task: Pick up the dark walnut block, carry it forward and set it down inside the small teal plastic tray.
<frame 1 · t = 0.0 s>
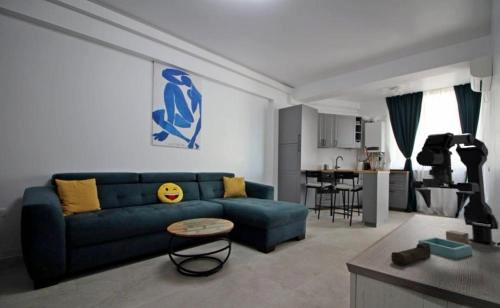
hand: (443, 209, 82), 15 cm above the table, fingers open, 9 cm apart
walnut block: (457, 245, 89), on the table
tray: (444, 251, 81), on the table
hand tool: (413, 260, 73), on the table
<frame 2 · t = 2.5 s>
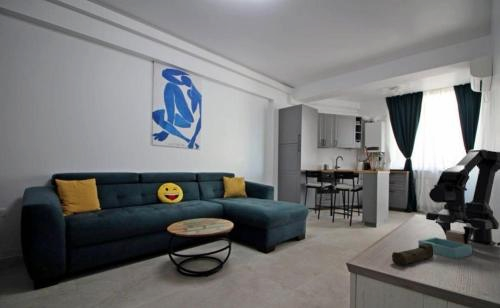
hand: (457, 242, 89), 1 cm above the table, fingers closed on walnut block, 5 cm apart
walnut block: (457, 245, 89), on the table, touching gripper
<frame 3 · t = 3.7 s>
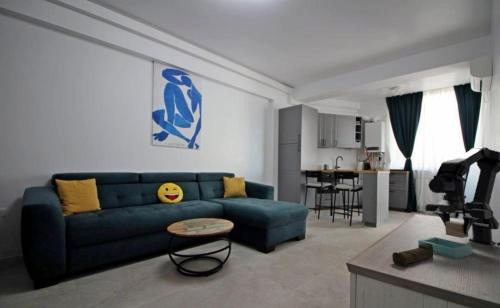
hand: (456, 232, 89), 5 cm above the table, fingers closed on walnut block, 5 cm apart
walnut block: (457, 235, 89), point 4 cm above the table, touching gripper
everything else where it was.
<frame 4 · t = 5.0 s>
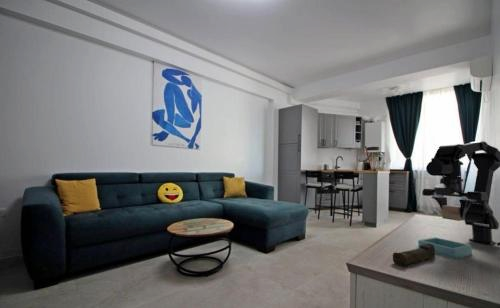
hand: (453, 216, 88), 11 cm above the table, fingers closed on walnut block, 5 cm apart
walnut block: (453, 219, 88), point 10 cm above the table, touching gripper
everything else where it was.
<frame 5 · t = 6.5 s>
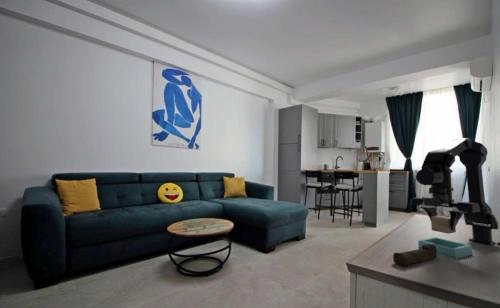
hand: (443, 228, 82), 8 cm above the table, fingers closed on walnut block, 5 cm apart
walnut block: (443, 231, 82), point 7 cm above the table, touching gripper
when the fingers open (3 cm above the table, at t = 7.6 s): walnut block drops 2 cm, resting on tray.
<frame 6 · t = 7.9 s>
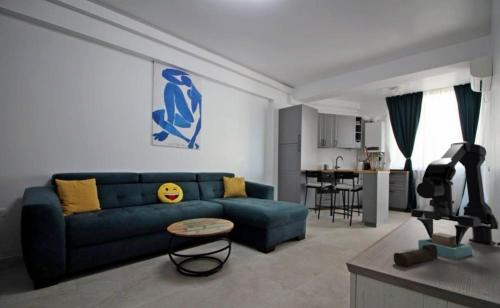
hand: (444, 241, 81), 3 cm above the table, fingers open, 8 cm apart
walnut block: (444, 249, 81), point 1 cm above the table, touching tray
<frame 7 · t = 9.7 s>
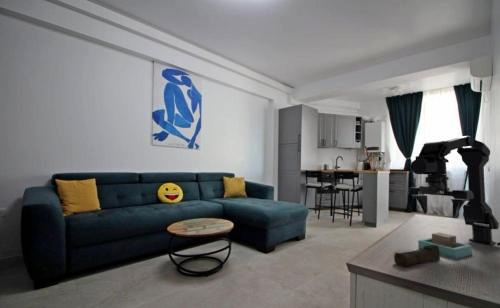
hand: (439, 215, 85), 12 cm above the table, fingers open, 9 cm apart
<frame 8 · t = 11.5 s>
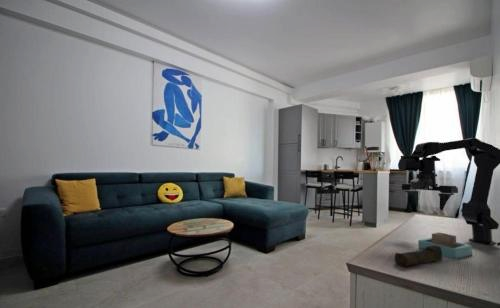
hand: (428, 208, 96), 13 cm above the table, fingers open, 9 cm apart
at the end: walnut block 0.0 cm off-centre on the tray, point 0.8 cm above the tray's base; walnut block tilted 0°; the gripper is holding nothing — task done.
